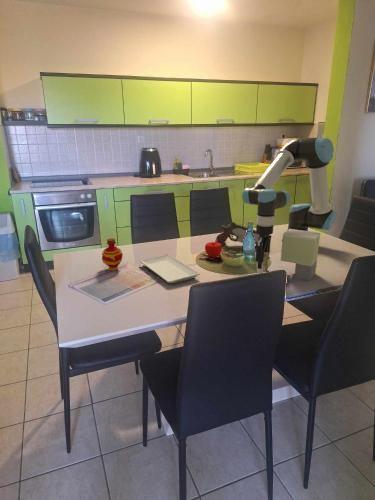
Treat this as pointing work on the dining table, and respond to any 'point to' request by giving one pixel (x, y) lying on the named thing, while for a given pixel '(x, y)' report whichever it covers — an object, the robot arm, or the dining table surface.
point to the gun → (234, 233)
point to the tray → (170, 268)
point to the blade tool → (265, 267)
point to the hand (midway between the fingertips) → (261, 272)
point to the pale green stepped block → (301, 252)
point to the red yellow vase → (112, 255)
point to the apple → (213, 249)
